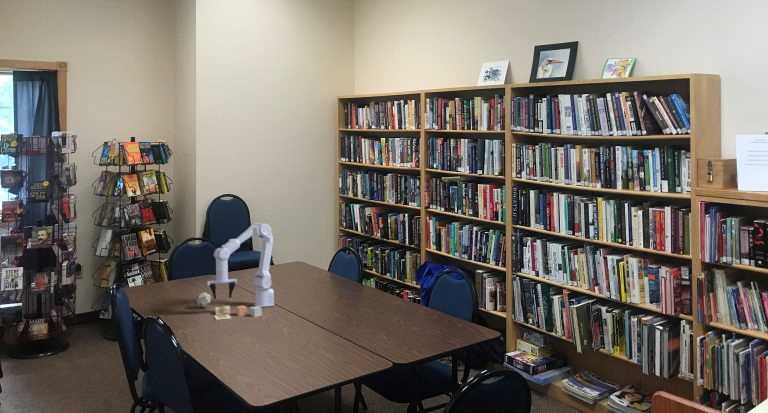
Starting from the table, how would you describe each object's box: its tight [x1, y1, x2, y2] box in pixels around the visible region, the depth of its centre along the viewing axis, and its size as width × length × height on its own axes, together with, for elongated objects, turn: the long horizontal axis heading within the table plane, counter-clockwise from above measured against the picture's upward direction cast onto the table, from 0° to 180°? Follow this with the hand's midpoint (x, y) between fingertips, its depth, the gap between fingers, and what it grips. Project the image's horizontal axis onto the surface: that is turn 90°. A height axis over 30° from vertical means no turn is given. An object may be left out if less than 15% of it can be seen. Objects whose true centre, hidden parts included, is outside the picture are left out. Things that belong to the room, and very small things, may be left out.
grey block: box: [249, 306, 263, 318], centre depth 307 cm, size 4×5×4 cm
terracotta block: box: [235, 305, 248, 317], centre depth 309 cm, size 4×5×4 cm
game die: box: [195, 291, 213, 309], centre depth 323 cm, size 9×8×10 cm
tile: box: [213, 314, 232, 321], centre depth 303 cm, size 7×7×1 cm
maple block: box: [214, 305, 231, 316], centre depth 313 cm, size 7×7×3 cm
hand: (222, 298), depth 313 cm, fingers open, 7 cm apart
